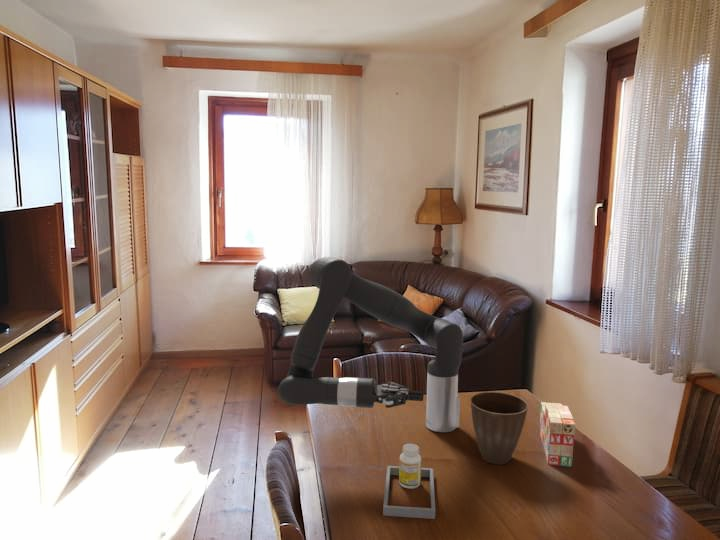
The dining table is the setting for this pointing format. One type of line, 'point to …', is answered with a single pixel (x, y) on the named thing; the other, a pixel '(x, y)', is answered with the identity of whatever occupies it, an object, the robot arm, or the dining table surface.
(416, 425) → the dining table surface
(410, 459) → the supplement bottle
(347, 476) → the dining table surface
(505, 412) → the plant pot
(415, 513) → the frame
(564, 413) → the stack of blocks
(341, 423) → the dining table surface
